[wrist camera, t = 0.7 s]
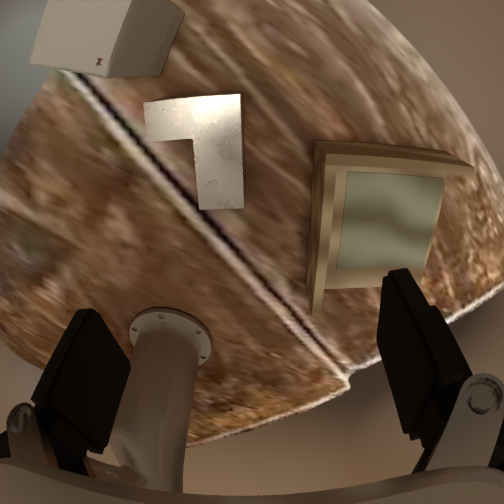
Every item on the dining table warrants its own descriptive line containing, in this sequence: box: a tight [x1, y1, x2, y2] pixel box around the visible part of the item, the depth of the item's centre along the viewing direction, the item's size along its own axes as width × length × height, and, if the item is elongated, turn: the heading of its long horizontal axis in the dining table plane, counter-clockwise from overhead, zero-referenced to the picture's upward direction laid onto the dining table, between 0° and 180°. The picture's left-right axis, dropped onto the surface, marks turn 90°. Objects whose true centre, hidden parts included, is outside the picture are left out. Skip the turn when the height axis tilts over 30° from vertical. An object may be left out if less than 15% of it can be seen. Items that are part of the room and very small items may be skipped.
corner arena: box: [305, 140, 475, 317], centre depth 32 cm, size 18×16×6 cm
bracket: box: [143, 91, 246, 210], centre depth 28 cm, size 10×8×6 cm
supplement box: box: [29, 0, 185, 78], centre depth 19 cm, size 7×7×13 cm
